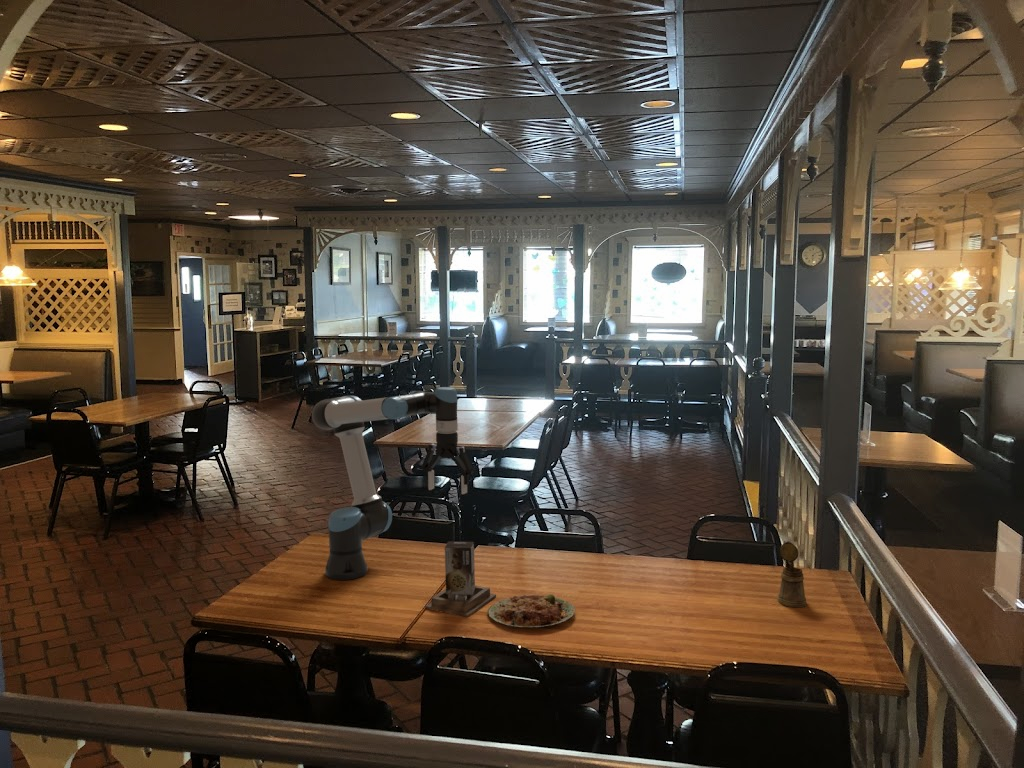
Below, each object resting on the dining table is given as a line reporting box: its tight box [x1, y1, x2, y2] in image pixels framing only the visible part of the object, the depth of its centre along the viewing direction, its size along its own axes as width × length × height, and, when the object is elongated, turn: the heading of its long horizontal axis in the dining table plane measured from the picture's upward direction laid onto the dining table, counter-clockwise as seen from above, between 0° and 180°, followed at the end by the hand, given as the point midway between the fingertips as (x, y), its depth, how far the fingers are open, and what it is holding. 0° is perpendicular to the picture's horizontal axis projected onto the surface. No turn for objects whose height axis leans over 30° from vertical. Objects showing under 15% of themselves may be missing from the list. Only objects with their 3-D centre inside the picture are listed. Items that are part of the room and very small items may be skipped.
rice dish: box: [487, 593, 576, 628], centre depth 252 cm, size 28×28×5 cm
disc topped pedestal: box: [777, 540, 808, 608], centre depth 262 cm, size 9×14×18 cm, turn 172°
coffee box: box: [444, 541, 476, 595], centre depth 261 cm, size 9×6×16 cm
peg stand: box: [424, 584, 497, 618], centre depth 262 cm, size 16×19×4 cm
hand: (447, 491), depth 278 cm, fingers open, 13 cm apart
